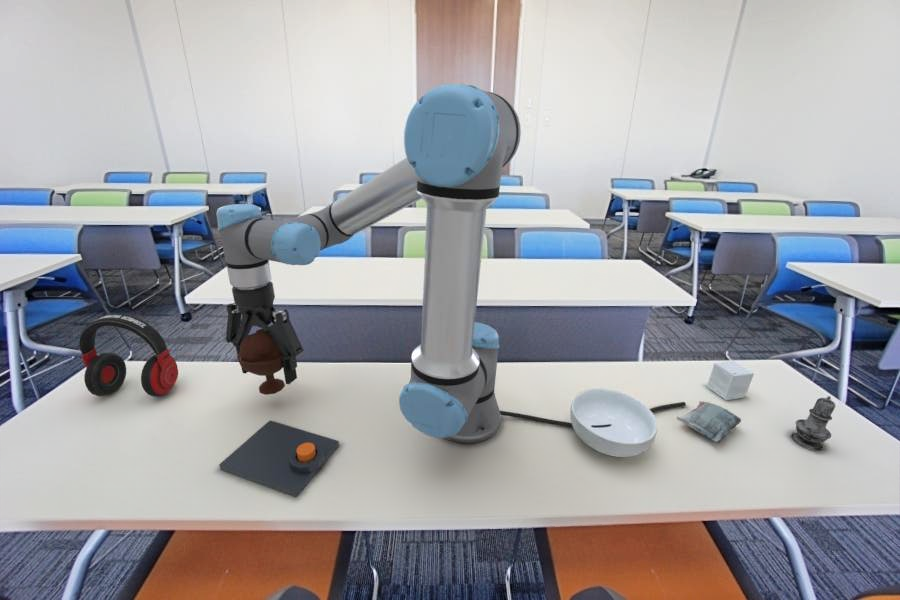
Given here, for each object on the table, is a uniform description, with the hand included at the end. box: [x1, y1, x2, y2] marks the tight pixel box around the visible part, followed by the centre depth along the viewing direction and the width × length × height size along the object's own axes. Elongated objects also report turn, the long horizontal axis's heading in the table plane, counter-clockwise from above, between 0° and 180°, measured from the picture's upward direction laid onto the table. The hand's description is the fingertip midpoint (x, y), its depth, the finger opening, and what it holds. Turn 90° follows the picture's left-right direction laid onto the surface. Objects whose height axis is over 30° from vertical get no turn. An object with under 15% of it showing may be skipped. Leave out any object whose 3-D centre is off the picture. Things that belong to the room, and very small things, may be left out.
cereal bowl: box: [569, 388, 659, 458], centre depth 83 cm, size 17×17×7 cm
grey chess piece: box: [790, 395, 836, 452], centre depth 83 cm, size 6×6×12 cm
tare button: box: [297, 443, 316, 462], centre depth 74 cm, size 3×3×2 cm
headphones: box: [78, 313, 179, 397], centre depth 90 cm, size 18×10×20 cm, turn 92°
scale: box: [218, 419, 340, 498], centre depth 76 cm, size 18×13×3 cm
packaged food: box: [676, 400, 742, 443], centre depth 88 cm, size 9×12×5 cm
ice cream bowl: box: [236, 328, 289, 396], centre depth 87 cm, size 11×11×15 cm
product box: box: [706, 360, 755, 401], centre depth 100 cm, size 6×6×7 cm
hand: (269, 375), depth 88 cm, fingers closed on ice cream bowl, 11 cm apart
